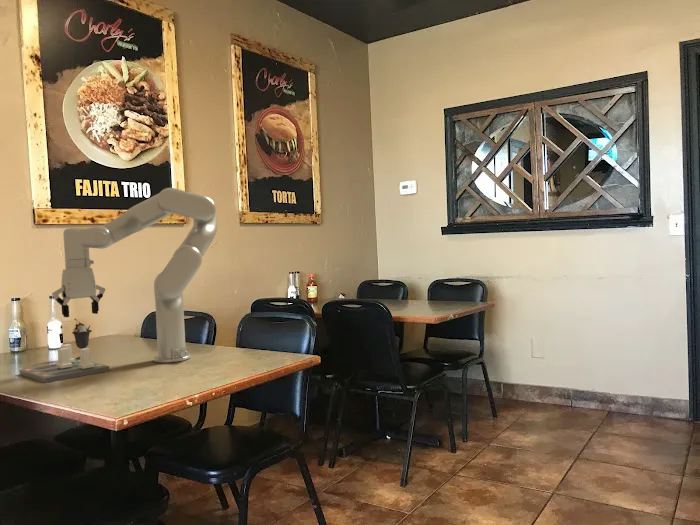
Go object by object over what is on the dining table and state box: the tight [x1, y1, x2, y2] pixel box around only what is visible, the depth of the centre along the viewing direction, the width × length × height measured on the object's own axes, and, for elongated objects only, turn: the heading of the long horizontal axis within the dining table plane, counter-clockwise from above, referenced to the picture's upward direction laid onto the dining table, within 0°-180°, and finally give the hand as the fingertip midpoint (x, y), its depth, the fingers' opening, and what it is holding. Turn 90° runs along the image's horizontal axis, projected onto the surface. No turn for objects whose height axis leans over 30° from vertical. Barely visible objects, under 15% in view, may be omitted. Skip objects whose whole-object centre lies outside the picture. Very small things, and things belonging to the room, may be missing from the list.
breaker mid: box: [55, 347, 72, 368], centre depth 193 cm, size 4×4×6 cm
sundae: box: [71, 318, 93, 360], centre depth 218 cm, size 7×7×15 cm
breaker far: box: [60, 343, 76, 363], centre depth 201 cm, size 4×4×6 cm
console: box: [19, 359, 110, 384], centre depth 193 cm, size 22×20×2 cm
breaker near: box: [78, 347, 94, 369], centre depth 191 cm, size 4×4×6 cm
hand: (80, 315), depth 198 cm, fingers open, 9 cm apart
